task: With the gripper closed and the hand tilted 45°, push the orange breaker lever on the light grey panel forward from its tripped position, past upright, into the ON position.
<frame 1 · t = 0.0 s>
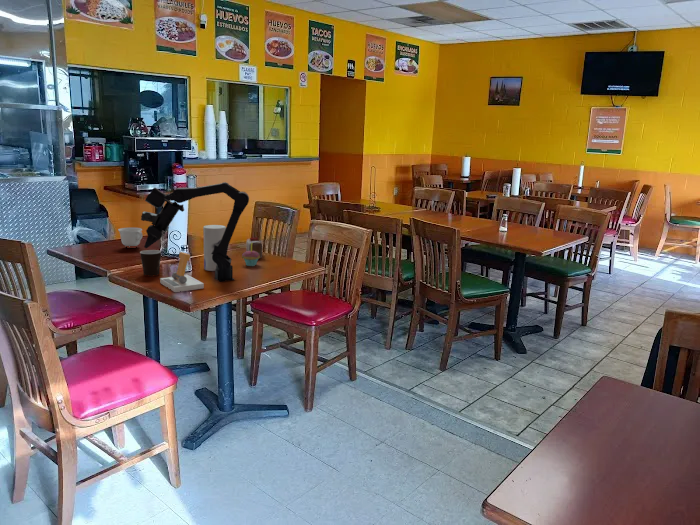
hand: (147, 245, 231), 15 cm above the table, tool tilted 35°, fingers open, 9 cm apart
coffee mug: (153, 273, 246), on the table
cupcake: (250, 265, 269), on the table
teacup: (133, 248, 295), on the table
breaker lever: (182, 266, 227), point 8 cm above the table, hinge at -15.0°
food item: (254, 256, 289), on the table
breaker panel: (181, 285, 229), on the table
container: (215, 269, 258), on the table
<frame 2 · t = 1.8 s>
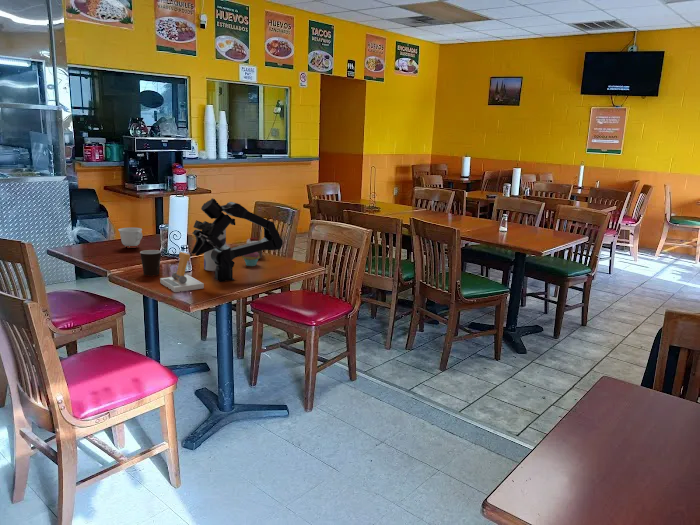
hand: (194, 254, 229), 13 cm above the table, tool tilted 45°, fingers open, 4 cm apart
nothing on the table moved.
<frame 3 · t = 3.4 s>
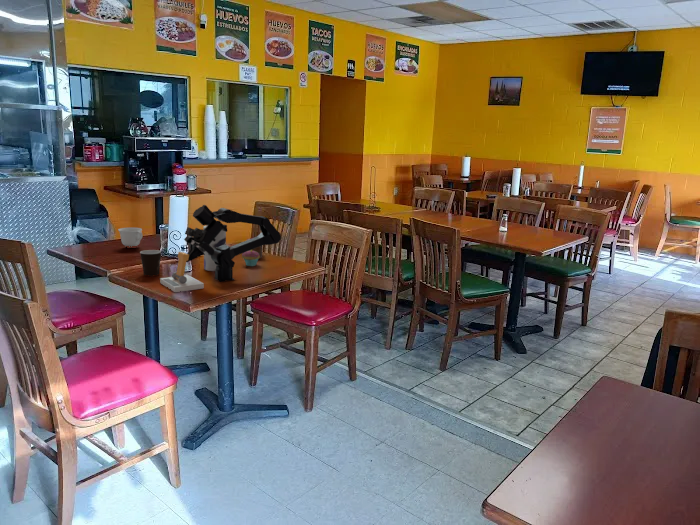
hand: (185, 261, 227), 10 cm above the table, tool tilted 45°, fingers closed, pressing on breaker lever
breaker lever: (181, 266, 227), point 8 cm above the table, hinge at -11.9°, touching gripper
everything else where it was.
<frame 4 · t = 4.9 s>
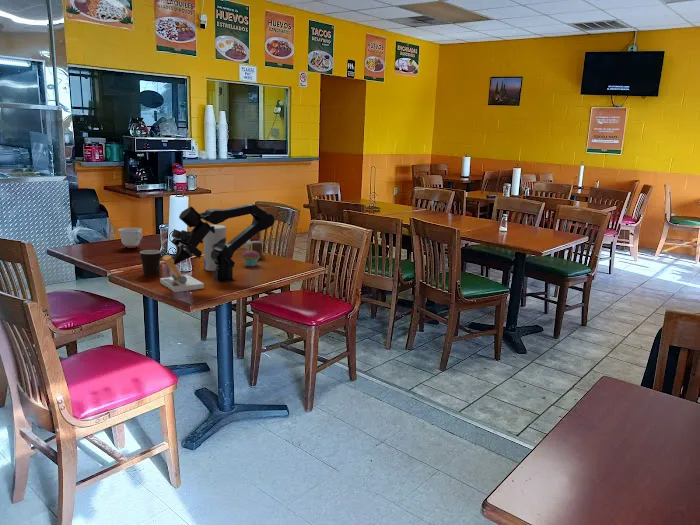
hand: (172, 264, 224), 10 cm above the table, tool tilted 45°, fingers closed, pressing on breaker lever
breaker lever: (173, 268, 225), point 8 cm above the table, hinge at 26.8°, touching gripper
everything else where it was.
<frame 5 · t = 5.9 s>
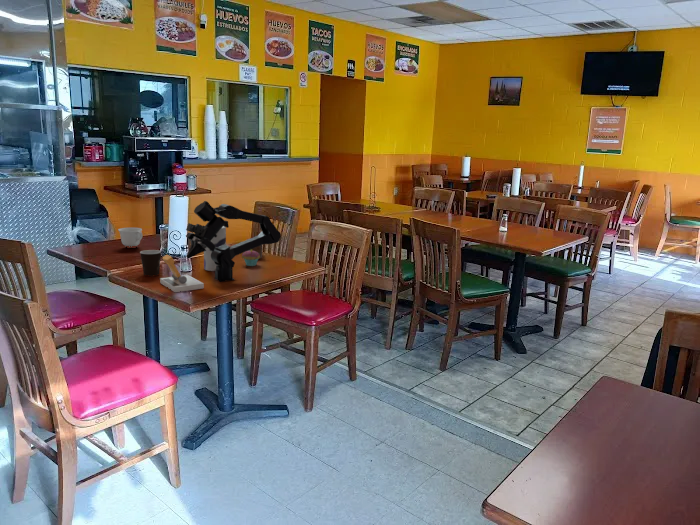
hand: (187, 257, 228), 12 cm above the table, tool tilted 45°, fingers closed
breaker lever: (173, 268, 225), point 8 cm above the table, hinge at 26.9°
everything else where it was.
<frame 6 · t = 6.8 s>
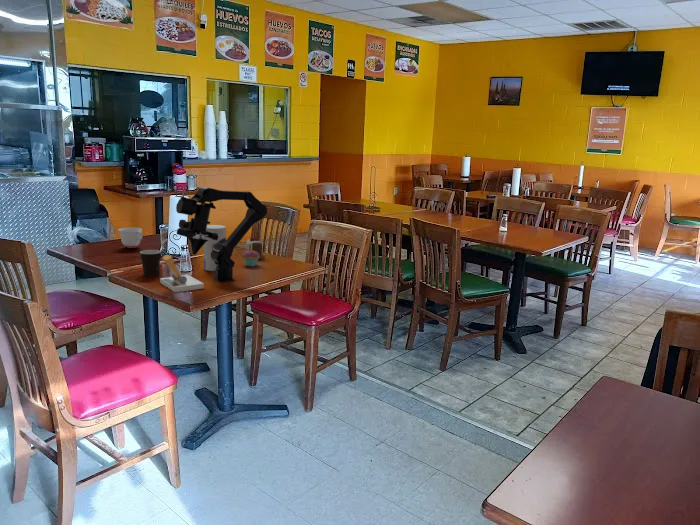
hand: (193, 254, 229), 13 cm above the table, tool pointing down, fingers closed
nothing on the table moved.
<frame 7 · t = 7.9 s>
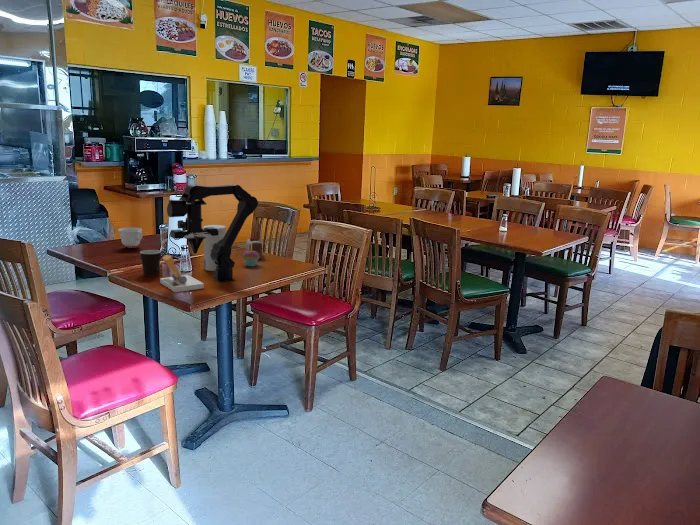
hand: (195, 253, 229), 13 cm above the table, tool pointing down, fingers closed
nothing on the table moved.
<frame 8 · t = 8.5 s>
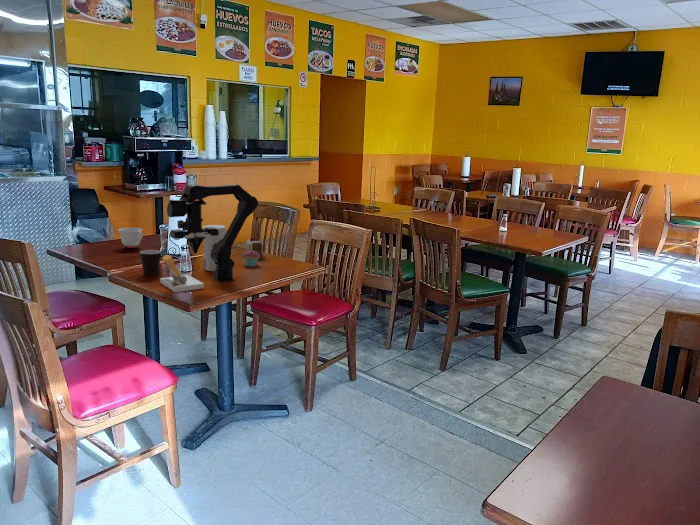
hand: (195, 253, 229), 13 cm above the table, tool pointing down, fingers closed
nothing on the table moved.
at the end: breaker lever at +27° (first picture: -15°); coffee mug moved 0.2 cm from its start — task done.
